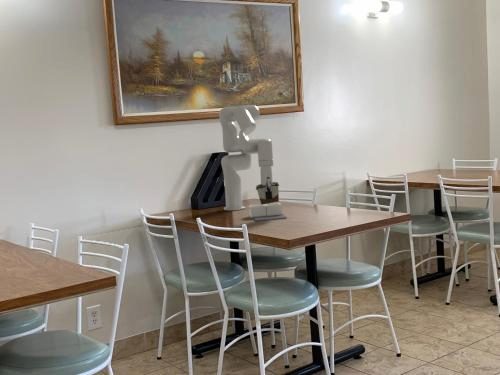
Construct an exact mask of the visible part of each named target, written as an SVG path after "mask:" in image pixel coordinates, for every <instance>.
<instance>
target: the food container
mask: <svg viewBox="0 0 500 375" xmlns="http://www.w3.org/2000/svg"><path fill="white" fill-rule="evenodd" d="M279 187H280V185H279V182H277V181H272V185H271V191H272V199H266V193H265V192H266V187H265V185H264V186H263V185H261V183H260V184H256V186H255V191H257V195H258V198H259V202H260V204H261V205H264V204H270V203H280V195H279V193H280V192H279Z"/></svg>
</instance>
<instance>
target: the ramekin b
mask: <svg viewBox="0 0 500 375" xmlns="http://www.w3.org/2000/svg"><path fill="white" fill-rule="evenodd" d="M264 205H265V206H266V215H267V216H272V215H282V214H283V206H282V203H280V202H275V203H270V204H264Z"/></svg>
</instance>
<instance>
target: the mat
mask: <svg viewBox="0 0 500 375" xmlns="http://www.w3.org/2000/svg"><path fill="white" fill-rule="evenodd" d="M287 218H288V217H287V216H285V214H283V213H282V215H272V216H267V215H266V216H261V217H253V218H252V219H253V220H254V221H255V222H261V221H263V222H264V221H271V220H272V221H273V220H274V221H276V220H285V219H287Z"/></svg>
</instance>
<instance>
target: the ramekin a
mask: <svg viewBox="0 0 500 375" xmlns="http://www.w3.org/2000/svg"><path fill="white" fill-rule="evenodd" d="M248 212H249V213H248V214H249V218H250V219H253V217H261V216H266V206H265V205H261V203H258V204H249V205H248Z"/></svg>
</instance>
